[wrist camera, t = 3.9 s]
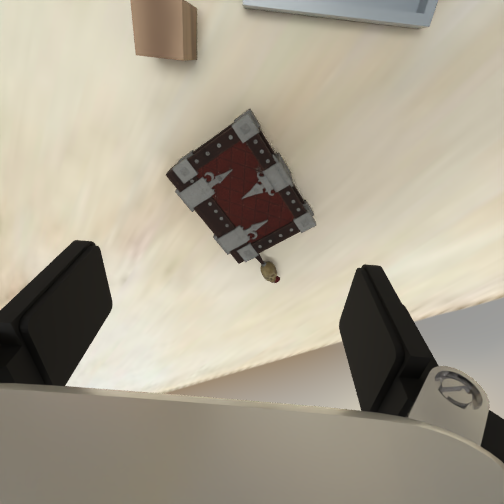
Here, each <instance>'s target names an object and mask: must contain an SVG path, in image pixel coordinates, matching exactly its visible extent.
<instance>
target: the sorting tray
mask: <svg viewBox="0 0 504 504" xmlns="http://www.w3.org/2000/svg"><path fill="white" fill-rule="evenodd" d="M437 2H438V0H243V6H244V8H247V9H256V10H264V11H273V12H281V13H290V14H298V15H307V16H315V17H324V18H332V19H341V20H349V21H358V22H366V23H375V24H383V25H392V26H400V27H409V28H417V29H418V28H424V27H429V26H430V23H431V20H432V17H433V14H434V11H435V8H436V5H437Z"/></svg>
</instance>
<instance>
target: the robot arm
mask: <svg viewBox="0 0 504 504" xmlns="http://www.w3.org/2000/svg"><path fill="white" fill-rule="evenodd" d="M111 309H112V298H111V294H110V289H109V285H108V281H107V276H106V272H105V268H104V263H103V259H102V255H101V250H100V248H99V246H96V245H95V243H94V242H92V241H80V240H75V241H73V242H72V243H71V244H70V245H69V246H68V247H67V248H66V249H65V250H64V251H63V252H62V253H61V254H59V255H58V256H57V257H56V258H55V259H54V260H53V261H52V262H51V263H50V264H49V265H48V266H47V267H46V268H45V269H44V270H43V271H42V272H40V273H39V274H38V275H37V276H36V277H35V278H34V279H33V280H32V281H31V282H30V283H29V284H28V285H27V286H26V287H25V288H24V289H23V290H21V291H20V292H19V293H18V294H17V295H16V296H15V297H14V298H13V299H12V300H11V301H10V302H9V303H8V304H7V305H6V306H5V307H4V308H2V309H1V310H0V504H504V419H502V418H501V417H499V416H498V415H496V414H495V413H493V412H492V411H490V410H489V399H488V397H487V394H486V393H485V391H484V390H483V389H482V387H481V386H480V385H479V384H478V383H477V382H476V381H475V380H474V379H473V378H471V377H470V376H468V375H467V374H465V373H464V372H462V371H460V370H457V369H455V368H451V367H447V366H438V364H437V362H436V360H435V359H434V357H433V355H432V353H431V352H430V350H429V348H428V346H427V344H426V343H425V341H424V339H423V337H422V336H421V334H420V332H419V330H418V328H417V327H416V325H415V323H414V321H413V320H412V318H411V316H410V314H409V312H408V311H407V309H406V307H405V306H404V305H403V304H402V303H401V301H400V299H399V298H398V296H397V294H396V292H395V290H394V289H393V287H392V285H391V283H390V281H389V280H388V278H387V276H386V274H385V272H384V271H383V269H382V267H381V266H376V265H363V266H362V267H361V268H357V270H356V272H355V275H354V278H353V281H352V285H351V288H350V291H349V294H348V297H347V300H346V303H345V306H344V309H343V312H342V315H341V319H340V323H339V329H340V334H341V337H342V341H343V345H344V348H345V352H346V356H347V359H348V363H349V367H350V370H351V374H352V378H353V381H354V385H355V389H356V392H357V396H358V399H359V403H360V407H361V411H356V410H347V409H337V408H327V407H316V406H306V405H305V406H304V405H293V404H282V403H271V402H259V401H247V400H234V399H223V398H211V397H199V396H186V395H173V394H161V393H148V392H135V391H122V390H109V389H95V388H82V387H69V386H65V385H66V383H67V382H68V380H69V378H70V377H71V375H72V374H73V372H74V370H75V369H76V367H77V365H78V364H79V362H80V360H81V359H82V357H83V356H84V354H85V352H86V351H87V349H88V347H89V346H90V344H91V343H92V341H93V339H94V338H95V336H96V334H97V333H98V331H99V330H100V328H101V326H102V325H103V323H104V321H105V320H106V318H107V317H108V315H109V313H110V312H111Z"/></svg>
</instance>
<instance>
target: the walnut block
mask: <svg viewBox="0 0 504 504" xmlns="http://www.w3.org/2000/svg"><path fill="white" fill-rule="evenodd" d="M130 1H131V11H132V21H133V31H134V42H135V52H136V55H140V56H148V57H157V58H166V59H174V60H183V61H184V60H197V8H196V7H194V6H192V5H191V4H189V3H188V2H186V1H184V0H130Z"/></svg>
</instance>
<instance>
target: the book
mask: <svg viewBox="0 0 504 504" xmlns="http://www.w3.org/2000/svg"><path fill="white" fill-rule="evenodd" d="M259 127H260V124H259V122H258V121H257V119H256V118H255V116H254V114H253V113H252V111H251V109H249V110H247V111H246V112H245V113H243V114H242V115H240V116H239V117H238V118H236V119H235V120H234V123H232V124H231V125H230V126H228V127H227V128H225V129H224V130H223V131H221V132H220V133H219V134H217V135H216V136H214V137H213V138H212V139H210V140H209V141H207V142H206V143H205V144H203V145H202V146H201V147H199V148H198V149H196V150H195V151H193V150H192V151H191V152H190V153H188V154H187V155H185V156H184V157H183V158H181V159H180V160H179V161H178V163H177V164H176V165H174V166H173V167H172V168H171V169H170V170H169V171H168V172H167V174H166V176H167V177H168V178H169V180H170V181H171V182H172V183H173V184H174V186H175V187H176V188H177V189H176V191H175V192H176V193H177V194H178V196H179V197H180V198H181V199H182V200H183V202H184V203H185V204H186V205H187V206H188V208H189V209H190V210H191V211H192V212H193V211H194V210H195V211H196V212H197V214H198V215H199V216H200V217H201V218H202V220H203V221H204V222H205V223H206V224H207V226H208V227H209V228H210V229H211V231H212V232H213V233H214V236H213V238H214V239H215V240H216V241H217V243H218V244H219V245H220V246H221V247H222V249H223V250H224V251H225V252H226V253H227V255H228V254H231V255H232V256H233V257H234V258H235V260H236V261H237V262H238V263H241V262H243V261H245V262H247V261H249V260H251V259H253V258H256V259H257V260H258V261H259V262H260V263H261V265H262V266H261V273H262V275H263V276H264V278H265V279H266V280H267V281H270V282H272V283H277V282H278V281H279V280H280V277H278V276H276V275H277V272H276V267H275V265H274V264H273V263H271V262H264V261H263V260H262V258H261V256H260V254H259V253H260V252H262V251H264V250H266V249H268V248H270V247H272V246H274V245H276V244H278V243H279V242H281V241H283V240H285V239H287V238H289V237H291V236H293V235H295V234H297V233H299V232H301V233H303V232H305V231H306V230H308V229H310V228H312V227H314V226H316V222H315V220H314V218H313V217H312V216H313V215H314V214H313V211H312V210H311V208H310V206H309V205H308V203H307V202H306V200H305V201H304V200H303V199H302V197H301V195H300V194H299V192H298V191H297V189H296V187H295V186H294V184H293V182H292V176H291V172H290V170H289V168H288V167H287V165H286V164H285V162H284V160H283V159H282V157H281V155H280V154H279V153H277V154H275V153H274V151H273V150H272V148H271V146H270V145H269V143H268V142H267V140H266V138H265V137H264V135H263V133H262V132H261V130H260V128H259Z"/></svg>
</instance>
